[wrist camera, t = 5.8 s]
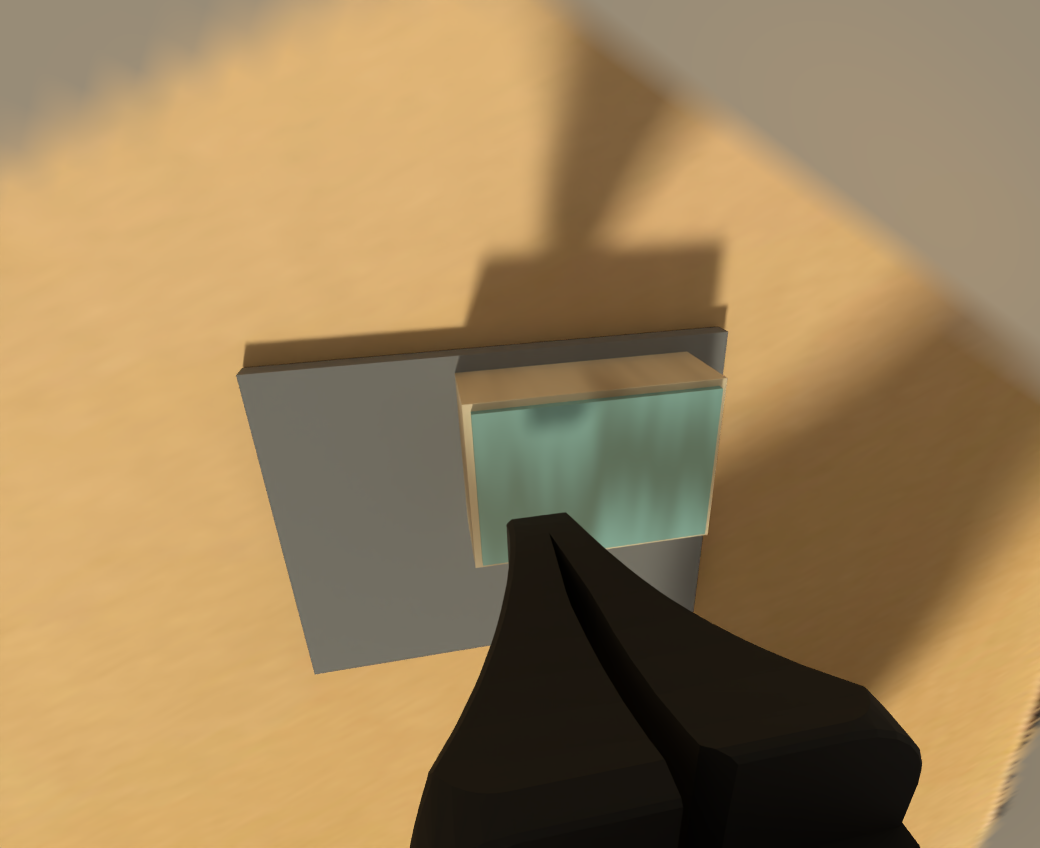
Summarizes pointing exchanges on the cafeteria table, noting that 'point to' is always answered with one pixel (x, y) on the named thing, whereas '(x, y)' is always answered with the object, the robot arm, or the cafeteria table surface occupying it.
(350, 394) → the rubber mat
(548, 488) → the green-faced wooden block
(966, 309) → the cafeteria table surface
